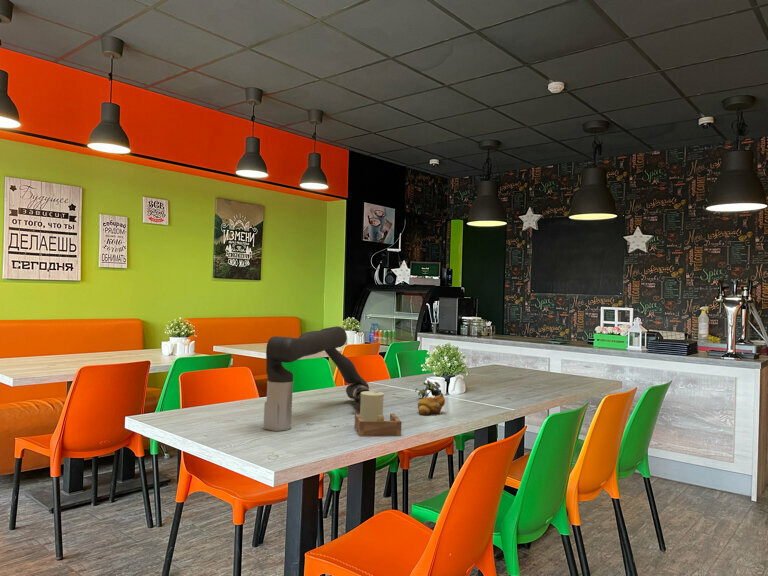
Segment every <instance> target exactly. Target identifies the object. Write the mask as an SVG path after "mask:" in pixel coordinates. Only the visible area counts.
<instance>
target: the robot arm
mask: <svg viewBox="0 0 768 576" xmlns="http://www.w3.org/2000/svg"><path fill="white" fill-rule="evenodd" d="M347 339H348V335H347V332H346V330H345V329H344V328H343V327H342V326H339V325H337V326H336V325H335V326H332V327H331V326H330V327H326V328H321V330H310V331H306V332H303V333H302V334H300V335H299V336H298V337H289V336H272V337H270V338H269V339H268V341H267V344H266V348H265V350H266V351H265V354H266V355H265V359H266V361H265V363H266V364H265V365H266V366H265V367H266V368H265V370H266V376H267V384H266V385H267V386H266V387H267V388H266V401H265V402H264V407H263V409H264V410H263V411H264V412H263V429H264V430H268V431H272V432H273V431H274V432H278V431H287V430H290V429H291V428H292V415H293V414H292V413H293V410H292V409H293V390H294V389H293V388H294V373H293V372H291V371H290V370H288V369H287V368H286V367H284V365H283V363H288V364H289V363H294V362H296V361H298V360H300V359H301V358H303V357H309V356H312V355H313V356H314V355H316V354H319V353H323V352H325V353H326V355H327V356H328V357H329V358H330V359H331V361H332V362H333V363H334V365H335V366H336V367H337V369H338V371H339V373H340V374H341V377H342V379H343V380H344V382H345V383H346V384H347V387H346V388H345V393H346V396H348V398H349V399H350V403H353V404H358V405H359V406H360V404H361V392H364V391H371V390H370V387H369V384H368V382H367V381H366V380H365V378H362V376H361V375H360V374H359V373H358V370H357V368H356V366H355V364H354V363H353V361H351V360H350V359H349V357H347V356H345V355H344V354H343V353H341V352H340V351H339V350H338V349H339V348H342V347H344V346H345V344H346V342H347Z"/></svg>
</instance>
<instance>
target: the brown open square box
mask: <svg viewBox="0 0 768 576" xmlns="http://www.w3.org/2000/svg"><path fill="white" fill-rule="evenodd" d="M402 423H403V422H402V421H401V420H400V418H399V417H398V416H397V415H396V414H395V413H390V415H389V420H385V416H384V414H383V415H378V416H377V421H363V419H362V418H361V416H360V413H354V429H355V431H356V433H357V432H358V433H357V435H358V436H359V437H398V436H399V437H401V436H402Z"/></svg>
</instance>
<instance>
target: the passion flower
mask: <svg viewBox="0 0 768 576" xmlns="http://www.w3.org/2000/svg"><path fill="white" fill-rule="evenodd" d="M422 383H423V385H424V389H421V390H420V389H418V388H417V387H416V388H415V389H414V390H415V393H417V391H419V392H418V395H417V396H418V397H421V399H423V398H427V397H429V394H430V393H431V395H432V396H433V397H435V396H439V395H442V396H443V397H444V394H443V392H442V389H440V388H441V385H440V383H439V382H437V381H434V382H432V381H430V380H427V381H426V382H425V381H423V382H422Z"/></svg>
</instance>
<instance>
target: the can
mask: <svg viewBox="0 0 768 576" xmlns="http://www.w3.org/2000/svg"><path fill="white" fill-rule="evenodd" d="M384 394H385V393H384V392H381V391H375V390H370V391H364V392H361V404H360V405H359V406H360V408H359V409H360V412H359V415H360V416H361V418H362V419H363V421H377V416H378V415H383V416H384V396H385V395H384Z"/></svg>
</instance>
